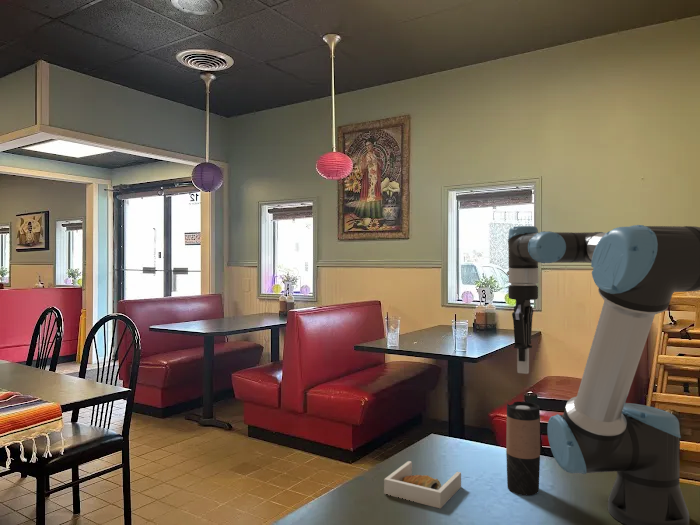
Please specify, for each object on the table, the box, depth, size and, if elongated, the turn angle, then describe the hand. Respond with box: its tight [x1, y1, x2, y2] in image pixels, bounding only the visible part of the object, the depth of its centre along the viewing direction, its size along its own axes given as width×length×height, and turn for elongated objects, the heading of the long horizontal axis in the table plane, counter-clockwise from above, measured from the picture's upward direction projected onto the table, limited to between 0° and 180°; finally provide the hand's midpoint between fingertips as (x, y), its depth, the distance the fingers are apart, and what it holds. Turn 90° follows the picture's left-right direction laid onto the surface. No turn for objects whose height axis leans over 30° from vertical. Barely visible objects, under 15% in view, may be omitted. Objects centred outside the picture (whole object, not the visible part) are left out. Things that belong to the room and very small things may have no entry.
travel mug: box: [505, 401, 541, 497], centre depth 128 cm, size 8×8×20 cm
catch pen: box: [383, 460, 462, 509], centre depth 128 cm, size 14×13×4 cm
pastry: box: [402, 474, 442, 490], centre depth 129 cm, size 9×7×4 cm
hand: (523, 372), depth 144 cm, fingers closed
